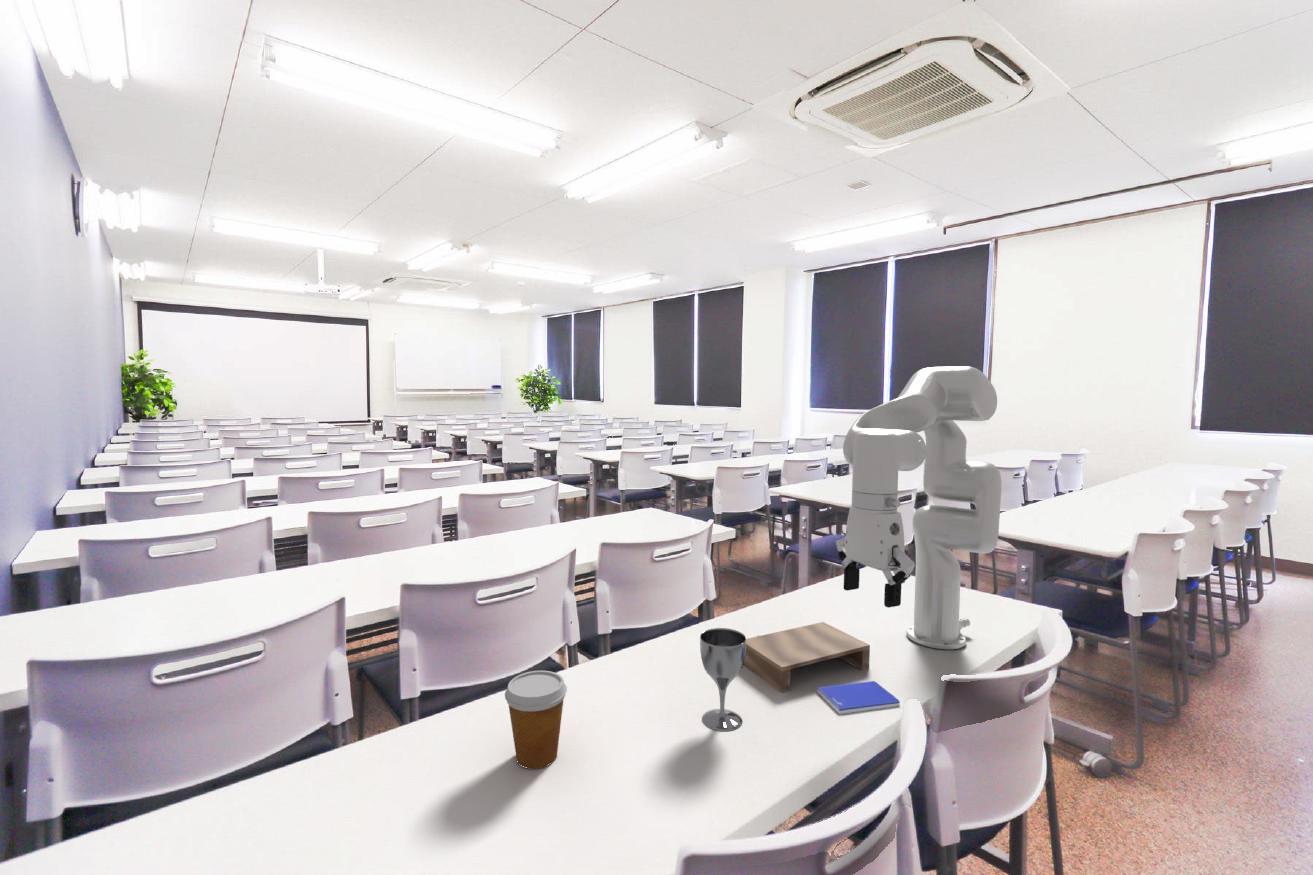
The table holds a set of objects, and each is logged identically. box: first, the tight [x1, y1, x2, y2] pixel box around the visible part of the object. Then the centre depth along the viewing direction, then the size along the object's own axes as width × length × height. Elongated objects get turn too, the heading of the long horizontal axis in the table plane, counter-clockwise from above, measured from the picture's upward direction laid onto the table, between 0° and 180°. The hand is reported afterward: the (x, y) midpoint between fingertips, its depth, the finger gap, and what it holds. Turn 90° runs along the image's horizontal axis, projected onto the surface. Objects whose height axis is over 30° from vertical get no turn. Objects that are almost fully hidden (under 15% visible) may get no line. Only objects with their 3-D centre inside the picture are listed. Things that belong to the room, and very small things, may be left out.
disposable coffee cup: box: [504, 670, 568, 770], centre depth 92 cm, size 10×10×12 cm
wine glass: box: [699, 627, 747, 732], centre depth 102 cm, size 8×8×15 cm
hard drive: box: [816, 680, 901, 715], centre depth 110 cm, size 2×8×12 cm
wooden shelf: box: [743, 621, 871, 693], centre depth 123 cm, size 23×14×5 cm, turn 116°
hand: (870, 597), depth 104 cm, fingers open, 9 cm apart
